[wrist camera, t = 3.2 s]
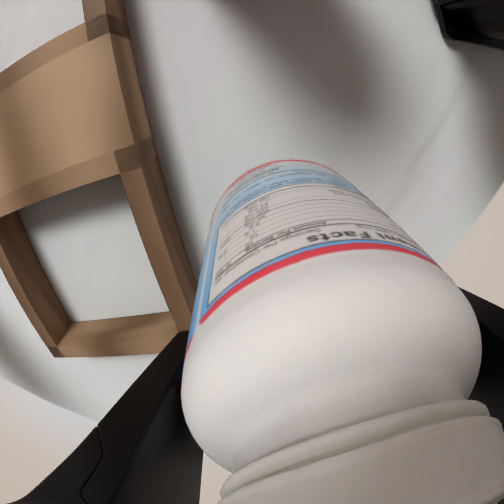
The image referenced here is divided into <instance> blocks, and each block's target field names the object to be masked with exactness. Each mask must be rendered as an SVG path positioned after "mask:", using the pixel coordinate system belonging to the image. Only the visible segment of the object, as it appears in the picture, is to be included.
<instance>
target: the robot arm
mask: <svg viewBox="0 0 504 504" xmlns="http://www.w3.org/2000/svg"><path fill="white" fill-rule="evenodd" d="M434 1H435V5H436V9H437V13H438V17H439V21H440V26H441V31H442V33H443V35H444V37H445V38H447V39H448V40H452V41H458V42H464V43H470V44H475V45H480V46H485V47H490V48H494V49H498V50H502V51H504V0H434ZM449 28H450V29H451V30H452V34H451V33H450V31H449ZM458 288H459V287H458ZM459 289H460V290H461V291H462V293H463V294H464V295H465V297H466V298H467V300H468V301H469V303H470V304H471V306H472V309H473V311H474V313H475V315H476V318H477V322H478V325H479V328H480V334H481V343H482V356H481V365H480V369H479V373H478V377H477V380H476V383H475V385H474V388H473V390H472V392H471V394H470V396H469V398H468V400H476V401H479V402H481V403H482V404H484V405H486V407H487V408H488V410H489V414H490V417H494V418H496V419H498V420H500V422H501V424H502V428H503V432H504V309H503V308H501V307H499V306H497V305H495V304H493V303H491V302H488V301H487V300H484V299H482V298H480V297H478V296H476V295H474V294H472V293H470V292H467V291H466V290H464V289H461V288H459ZM188 336H189V330H185V331H179V332H178V333H177V334H176V335H175V336H174V337H173V338H172V339H171V341H170V342H169V343H168V344H167V345H166V346H165V348H164V349H163V350H162V351H161V352H160V353H159V354H158V356H157V357H156V358H155V359H154V360H153V361H152V362H151V364H150V365H149V366H148V367H147V368H146V369H145V370H144V372H143V373H142V374H141V375H140V376H139V377H138V379H137V380H136V381H135V382H134V383H133V384H132V385H131V387H130V388H129V389H128V390H127V391H126V392H125V393H124V395H123V396H122V397H121V398H120V399H119V400H118V402H117V403H116V404H115V405H114V406H113V407H112V408H111V410H110V411H109V412H108V413H107V414H106V415H105V417H104V418H103V419H102V420H101V421H100V422H99V423H98V427H95V428H94V429H93V430H92V432H91V433H90V434H89V435H88V436H87V437H86V438H85V439H84V441H83V442H82V443H81V444H80V445H79V446H78V447H77V448H76V449H75V450H74V451H73V452H72V453H71V455H70V456H68V457H67V458H66V459H65V460H64V461H63V462H62V463H61V464H60V465H59V466H58V467H57V468H56V469H55V470H54V471H53V472H52V473H51V474H50V475H48V476H47V477H46V478H45V479H44V480H43V481H42V482H41V483H40V484H39V485H38V486H37V487H35V488H34V489H33V490H32V491H31V492H30V493H29V494H27V495H26V496H25V497H23V498H21V499H19V500H17V501H15V502H12V503H8V504H199V499H200V486H201V473H202V461H203V450H202V449H201V447H200V446H199V445H198V443H197V442H196V441H195V439H194V437H193V436H192V434H191V432H190V430H189V428H188V426H187V423H186V420H185V417H184V413H183V409H182V400H181V387H182V375H183V367H184V360H185V354H186V348H187V342H188ZM497 504H504V498H503V499H502V500H500V501H499V502H497Z"/></svg>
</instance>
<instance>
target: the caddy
mask: <svg viewBox="0 0 504 504" xmlns="http://www.w3.org/2000/svg"><path fill="white" fill-rule="evenodd" d="M82 4H83V12H84V19H85V23H83V24H81V25H79V26H77V27H75V28H73V29H71V30H69V31H67V32H65V33H63V34H61V35H59V36H58V37H56V38H54V39H52V40H50V41H49V42H47V43H45V44H44V45H42V46H40V47H39V48H37V49H35V50H34V51H32V52H31V53H29V54H27V55H26V56H24V57H23V58H21V59H20V60H18V61H17V62H15V63H14V64H12V65H11V66H10V67H8V68H7V69H5V70H4V71H2V72H1V73H0V267H1V269H2V271H3V273H4V275H5V277H6V279H7V281H8V283H9V285H10V287H11V289H12V290H13V292H14V294H15V296H16V298H17V299H18V301H19V303H20V305H21V306H22V308H23V310H24V311H25V313H26V315H27V316H28V318H29V320H30V321H31V323H32V325H33V326H34V328H35V329H36V331H37V332H38V334H39V336H40V337H41V339H42V340H43V342H44V343H45V345H46V346H47V347H48V349H49V350H50V352H51V353H52V355H53V356H54V357H102V356H123V355H139V354H153V353H160V352H161V351H162V350H163V349H164V348H165V346H166V345H167V344H168V343H169V342H170V341H171V339H172V338H173V337H174V336H175V335H176V334H177V333H178V332H179V331H185V330H190V324H191V319H192V313H193V308H194V303H195V297H196V292H197V285H196V282H195V279H194V276H193V273H192V270H191V267H190V264H189V261H188V258H187V255H186V252H185V248H184V245H183V242H182V239H181V236H180V233H179V229H178V226H177V223H176V219H175V216H174V213H173V209H172V206H171V203H170V199H169V196H168V192H167V189H166V185H165V182H164V178H163V175H162V171H161V167H160V164H159V160H158V156H157V153H156V149H155V145H154V141H153V137H152V134H151V130H150V126H149V122H148V118H147V113H146V109H145V105H144V101H143V97H142V92H141V88H140V84H139V79H138V75H137V70H136V65H135V61H134V56H133V51H132V46H131V41H130V36H129V30H128V25H127V20H126V14H125V8H124V2H123V0H82ZM117 174H120V176H121V179H122V182H123V185H124V189H125V192H126V195H127V198H128V201H129V204H130V207H131V210H132V213H133V216H134V219H135V222H136V225H137V228H138V230H139V233H140V236H141V239H142V242H143V244H144V247H145V250H146V253H147V255H148V258H149V261H150V263H151V266H152V268H153V271H154V274H155V276H156V279H157V281H158V284H159V286H160V289H161V291H162V294H163V296H164V298H165V301H166V303H167V306H168V308H169V310H170V311H169V312H161V313H153V314H145V315H137V316H129V317H120V318H111V319H102V320H92V321H82V322H71V321H70V320H69V318H68V316H67V315H66V313H65V311H64V309H63V308H62V306H61V304H60V302H59V300H58V299H57V297H56V295H55V293H54V291H53V289H52V287H51V285H50V283H49V281H48V279H47V277H46V275H45V273H44V271H43V269H42V267H41V265H40V263H39V261H38V259H37V257H36V255H35V252H34V250H33V248H32V246H31V243H30V241H29V239H28V236H27V234H26V232H25V229H24V227H23V224H22V222H21V219H20V217H19V214H18V212H17V210H19V209H21V208H23V207H26V206H28V205H31V204H33V203H36V202H39V201H41V200H44V199H46V198H49V197H52V196H54V195H57V194H60V193H63V192H65V191H68V190H71V189H74V188H77V187H80V186H83V185H86V184H89V183H92V182H95V181H98V180H101V179H104V178H107V177H110V176H114V175H117Z"/></svg>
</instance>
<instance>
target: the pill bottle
mask: <svg viewBox="0 0 504 504" xmlns="http://www.w3.org/2000/svg"><path fill="white" fill-rule="evenodd" d="M481 356H482V343H481V334H480V328H479V325H478V322H477V318H476V315H475V313H474V311H473V309H472V306H471V304H470V303H469V301H468V300H467V298H466V297H465V295H464V294H463V293H462V291H461V290H460V289H459V288H458V287H457V285H456V284H455V283H454V282H453V280H452V279H451V277H449V276H448V275H447V274H446V273H445V272H444V271H443V270H442V268H441V267H440V266H439V265H438V264H437V263H436V262H435V261H434V260H433V259H432V258H431V257H430V256H429V255H428V254H427V253H426V252H425V251H424V250H423V249H422V248H421V247H420V246H419V245H418V244H417V243H416V242H415V241H414V240H413V239H412V238H411V237H410V236H409V235H408V234H407V233H406V232H405V231H404V230H403V229H402V228H401V227H399V226H398V225H397V224H396V223H395V222H394V221H393V220H392V219H391V218H390V217H389V216H388V215H386V214H385V213H384V212H383V211H382V210H381V209H380V208H379V207H377V206H376V205H375V204H374V203H373V202H372V201H371V200H369V199H368V198H367V197H366V196H365V195H364V194H363V193H361V192H360V191H359V190H358V189H357V188H356V187H355V186H353V185H352V184H351V183H350V182H349V181H347V180H346V179H345V178H344V177H342V176H341V175H339V174H338V173H337V172H335V171H333V170H332V169H330V168H328V167H326V166H323V165H321V164H318V163H315V162H312V161H308V160H303V159H294V158H284V159H276V160H271V161H268V162H264V163H262V164H259V165H257V166H254V167H252V168H251V169H249V170H247V171H246V172H244V173H243V174H241V175H240V176H239V177H238V178H236V179H235V180H234V181H233V182H232V183H231V184H230V185H229V187H228V188H227V189H226V190H225V191H224V193H223V194H222V196H221V197H220V199H219V201H218V203H217V205H216V208H215V210H214V213H213V216H212V220H211V223H210V229H209V233H208V238H207V242H206V247H205V251H204V256H203V261H202V266H201V271H200V276H199V281H198V286H197V292H196V297H195V303H194V308H193V313H192V319H191V324H190V330H189V336H188V342H187V348H186V354H185V360H184V367H183V375H182V387H181V400H182V409H183V413H184V417H185V420H186V423H187V426H188V428H189V430H190V432H191V434H192V436H193V437H194V439H195V441H196V442H197V443H198V445H199V446H200V447H201V449H202V450H203V451H204V452H205V453H206V454H207V455H208V456H209V457H210V458H211V459H212V460H214V461H215V462H216V463H217V464H219V465H220V466H222V467H223V468H225V469H226V470H228V471H230V472H232V473H234V474H232V475H231V476H230V477H229V478H228V479H227V480H226V481H225V482H224V484H223V486H222V489H221V491H220V494H221V500H220V501H219V502H218V503H217V504H496V503H497V502H499V501H500V500H502V499H503V498H504V432H503V428H502V424H501V422H500V420H498V419H496V418H494V417H490V414H489V410H488V408H487V407H486V405H484V404H482V403H481V402H479V401H476V400H468V398H469V396H470V394H471V392H472V390H473V388H474V385H475V383H476V380H477V377H478V373H479V369H480V365H481Z"/></svg>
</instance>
